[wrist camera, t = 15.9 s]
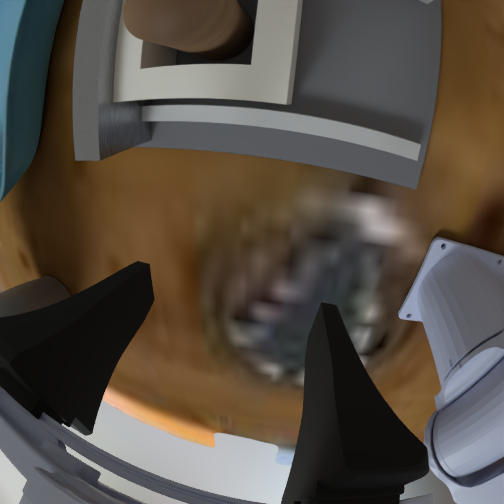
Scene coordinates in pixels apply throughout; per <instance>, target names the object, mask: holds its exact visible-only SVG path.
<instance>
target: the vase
mask: <svg viewBox="0 0 504 504" xmlns="http://www.w3.org/2000/svg"><path fill="white" fill-rule="evenodd" d="M69 297H71V294H70V293H69V291H68V290H67V288H66V287H65V286H64V285H63V284H61V283H60V282H59V281H58V280H57V279H56V278H54V277H51V276H45V277H42V278H39V279H36V280H32V281H29V282H26V283H23V284H20V285H18V286H15V287H13V288H11V289H8V290H6V291H4V292H2V293H0V317H6V316H13V315H18V314H22V313H26V312H30V311H34V310H37V309H40V308H43V307H46V306H49V305H52V304H55V303H57V302H60V301H62V300H64V299H67V298H69Z"/></svg>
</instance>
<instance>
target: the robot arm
mask: <svg viewBox="0 0 504 504" xmlns="http://www.w3.org/2000/svg"><path fill="white" fill-rule="evenodd" d="M443 243H445V244H444V246H443V247H441V245H442V244H443ZM153 302H154V293H153V287H152V279H151V272H150V264H147V263H143V262H139V261H137V262H135V263H133V264H131V265H129V266H127V267H125V268H123V269H122V270H120V271H118V272H116V273H114V274H113V275H111V276H109V277H107V278H106V279H104V280H102V281H100V282H99V283H97V284H95V285H93V286H91V287H89V288H87V289H85V290H83V291H81V292H80V293H78V294H75V295H73V296H71V297H69V298H67V299H64V300H62V301H60V302H57V303H55V304H52V305H49V306H46V307H43V308H40V309H37V310H34V311H30V312H26V313H22V314H18V315H13V316H6V317H0V449H1V451H2V452H3V453H4V454H5V455H6V457H7V458H8V459H9V460H10V461H11V463H12V464H13V465H14V466H15V467H16V468H17V469H18V471H19V472H20V473H21V474H22V475H23V476H24V477H25V478H26V479H27V482H26V484H25V486H24V488H23V493H24V494H23V496H22V499H21V501H20V503H19V504H145V503H143V502H140V501H138V500H136V499H133V498H131V497H129V496H127V495H125V494H122V493H120V492H118V491H116V490H114V489H112V488H110V487H108V486H106V485H104V484H102V483H101V482H99V481H98V479H99V477H100V475H101V474H100V472H99V471H97V470H95V469H94V468H92V467H90V466H88V465H87V464H85V463H84V462H82V461H80V460H79V459H77V458H76V457H74V456H72V455H71V454H69V453H68V452H67V451H66V447H65V445H67V446H68V447H70V448H72V449H73V450H75V451H76V452H78V453H79V454H81V455H82V456H84V457H86V458H87V459H89V460H91V461H93V462H94V463H96V464H98V465H99V466H101V467H103V468H105V469H107V470H109V471H111V472H113V473H114V474H116V475H118V476H120V477H123V478H125V479H127V480H129V481H131V482H133V483H136V484H138V485H140V486H143V487H145V488H147V489H150V490H152V491H154V492H157V493H160V494H162V495H165V496H168V497H171V498H173V499H177V500H179V501H182V502H186V503H189V504H265V503H258V502H252V501H246V500H241V499H235V498H230V497H227V496H222V495H218V494H214V493H210V492H206V491H203V490H199V489H196V488H192V487H189V486H186V485H183V484H180V483H177V482H174V481H171V480H168V479H165V478H163V477H160V476H158V475H155V474H153V473H150V472H147V471H145V470H143V469H140V468H138V467H136V466H134V465H131V464H129V463H127V462H125V461H123V460H121V459H119V458H117V457H115V456H113V455H111V454H109V453H107V452H105V451H103V450H102V449H100V448H98V447H96V446H94V445H93V444H91V443H89V442H87V441H86V440H84V439H82V438H81V437H79V436H78V435H76V434H74V433H73V432H71V431H70V430H68V429H67V428H65V427H64V426H62V423H63V424H64V425H66V426H68V427H70V426H71V427H72V428H74V429H75V430H77V431H79V432H80V433H82V434H84V435H90V434H92V433H93V428H94V424H95V420H96V417H97V413H98V410H99V407H100V403H101V401H102V398H103V395H104V393H105V390H106V388H107V385H108V383H109V380H110V378H111V376H112V373H113V371H114V369H115V367H116V365H117V363H118V361H119V359H120V357H121V356H122V354H123V352H124V351H125V349H126V348H127V346H128V345H129V343H130V342H131V340H132V338H133V337H134V335H135V334H136V332H137V331H138V329H139V328H140V326H141V325H142V323H143V322H144V320H145V318H146V316H147V314H148V312H149V310H150V308H151V306H152V304H153ZM407 314H409V315H407ZM398 315H399V318H400V319H406V320H414V321H422V322H423V325H424V328H425V331H426V334H427V337H428V340H429V343H430V347H431V350H432V353H433V357H434V360H435V364H436V368H437V372H438V376H439V380H440V384H441V388H442V390H441V391H440V392H439V394H437V395H436V396H435V402H436V407H437V410H436V411H435V412H434V413H433V414H432V416H431V417H430V419H429V420H428V422H427V425H426V429H425V433H424V444H423V443H422V442H421V441H420V440H419V439H418V438H417V437H416V436H415V435H414V434H413V433H412V432H411V431H410V430H409V429H408V428H407V427H406V426H405V425H404V424H403V422H402V421H401V420H400V419H399V418H398V417H397V415H396V414H395V413H394V412H393V410H392V409H391V408H390V406H389V405H388V404H387V402H386V401H385V400H384V398H383V397H382V396H381V394H380V393H379V391H378V390H377V388H376V386H375V385H374V383H373V382H372V380H371V378H370V377H369V375H368V373H367V371H366V369H365V368H364V366H363V364H362V362H361V360H360V358H359V356H358V354H357V352H356V350H355V348H354V345H353V343H352V341H351V339H350V337H349V334H348V332H347V330H346V327H345V325H344V323H343V320H342V318H341V315H340V312H339V310H338V307H337V306H336V305H333V304H327V303H322V302H321V304H320V307H319V310H318V312H317V315H316V318H315V320H314V323H313V326H312V328H311V331H310V333H309V336H308V342H307V349H306V356H305V377H304V401H303V413H302V419H301V425H300V430H299V436H298V440H297V445H296V450H295V454H294V458H293V462H292V466H291V470H290V474H289V477H288V481H287V484H286V488H285V491H284V494H283V497H282V501H281V504H433V495H432V494H428V495H424V496H419V497H414V498H409V499H404V500H400V494H403V493H404V485H405V484H408V483H410V482H413V481H415V480H417V479H420V478H422V477H424V476H425V475H426V474H427V473H428V472H429V466H430V468H431V470H432V472H433V473H434V474H435V475H436V476H437V477H438V478H439V479H440V480H442V481H443V482H444V483H445V484H446V485H447V486H448V488H449V489H450V492H451V494H452V497H453V499H454V502H456V503H458V504H504V256H502V255H499V254H496V253H492V252H489V251H486V250H483V249H480V248H476V247H473V246H470V245H466V244H463V243H459V242H456V241H452V240H449V239H445V238H441V237H436V238H434V239H433V241H432V243H431V245H430V248H429V250H428V253H427V255H426V257H425V259H424V262H423V264H422V266H421V268H420V271H419V273H418V275H417V277H416V279H415V281H414V283H413V285H412V287H411V289H410V291H409V293H408V295H407V297H406V299H405V301H404V303H403V305H402V307H401V308H400V310H399V312H398Z"/></svg>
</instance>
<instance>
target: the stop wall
mask: <svg viewBox="0 0 504 504" xmlns="http://www.w3.org/2000/svg"><path fill="white" fill-rule="evenodd" d="M122 4H123V0H83V2H82V7H81V12H80V18H79V24H78V31H77V38H76V47H75V57H74V71H73V136H74V150H75V161H77V160H92V161H100V160H102V159H105V158H107V157H110V156H112V155H114V154H117V153H119V152H122V151H124V150H127V149H129V148H132V147H135V146H137V145H140V144H143V143H145V142H148V141H151V129H152V121H142V106H149V105H152V99H146V100H133V101H122V102H113V95H114V72H115V58H116V47H117V38H118V30H119V23H120V16H121V10H122Z"/></svg>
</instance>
